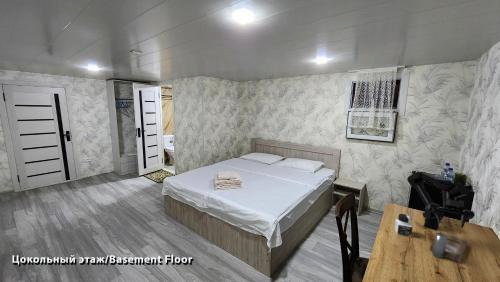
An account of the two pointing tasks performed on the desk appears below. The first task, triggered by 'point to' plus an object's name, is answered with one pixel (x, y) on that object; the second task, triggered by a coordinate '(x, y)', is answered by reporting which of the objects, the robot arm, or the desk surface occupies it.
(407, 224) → the medicine bottle
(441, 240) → the steel peg
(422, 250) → the desk surface
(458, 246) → the bore block
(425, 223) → the robot arm
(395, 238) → the desk surface
